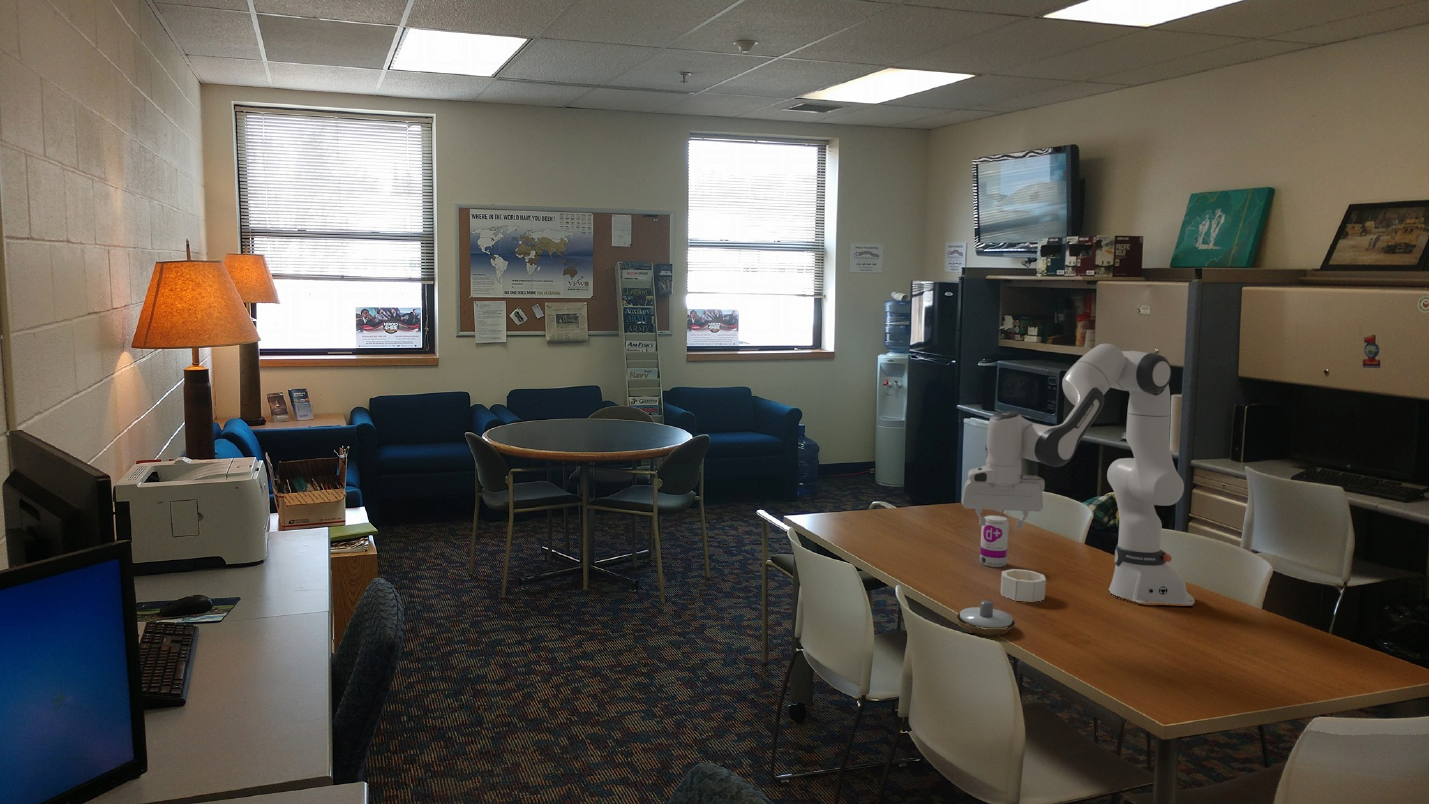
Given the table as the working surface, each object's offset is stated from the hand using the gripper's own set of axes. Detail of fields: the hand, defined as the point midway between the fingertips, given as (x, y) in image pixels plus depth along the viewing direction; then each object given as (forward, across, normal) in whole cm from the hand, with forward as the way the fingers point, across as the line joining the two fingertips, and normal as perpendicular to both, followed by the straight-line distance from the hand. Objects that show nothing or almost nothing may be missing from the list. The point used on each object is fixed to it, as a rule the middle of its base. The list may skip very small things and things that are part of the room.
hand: (1001, 526), depth 251 cm
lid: (+23, +4, +8) cm, 24 cm away
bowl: (+26, -8, -22) cm, 34 cm away
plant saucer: (+25, +4, +8) cm, 27 cm away
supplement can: (+26, -3, -53) cm, 59 cm away
